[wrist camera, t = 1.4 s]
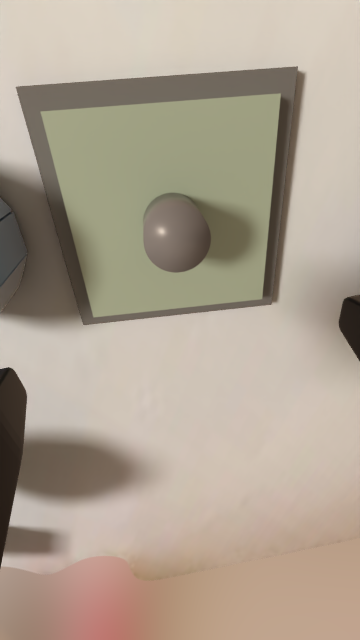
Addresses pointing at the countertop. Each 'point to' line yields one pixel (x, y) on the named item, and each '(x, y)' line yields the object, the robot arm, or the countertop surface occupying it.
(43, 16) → the countertop surface
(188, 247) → the cover
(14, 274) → the bowl
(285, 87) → the rubber mat
